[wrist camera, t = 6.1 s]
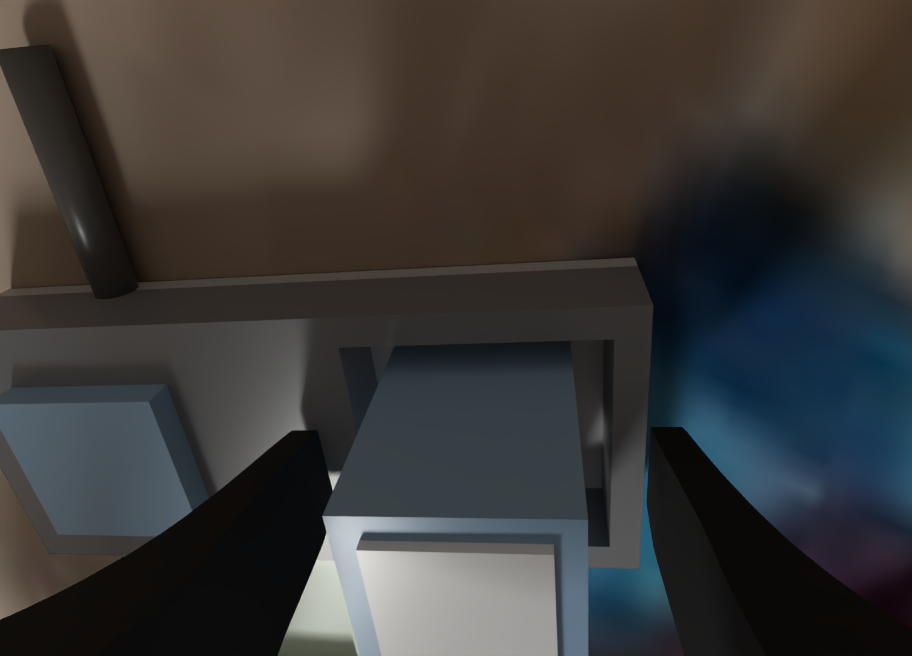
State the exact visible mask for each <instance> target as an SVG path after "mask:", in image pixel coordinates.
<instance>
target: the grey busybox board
mask: <svg viewBox="0 0 912 656" xmlns="http://www.w3.org/2000/svg"><path fill="white" fill-rule="evenodd" d="M0 66H1V69H2V71H3V73H4V76H5V78H6V81H7V83H8V86H9V88H10V91H11V93H12V95H13V98H14V100H15V103H16V105H17V108H18V110H19V113H20V115H21V117H22V120H23V122H24V125H25V127H26V130H27V132H28V135H29V137H30V139H31V142H32V144H33V147H34V149H35V152H36V154H37V157H38V159H39V161H40V164H41V166H42V169H43V171H44V174H45V176H46V179H47V181H48V183H49V186H50V188H51V191H52V193H53V196H54V198H55V201H56V203H57V206H58V208H59V210H60V213H61V215H62V218H63V220H64V223H65V225H66V228H67V230H68V232H69V235H70V237H71V240H72V242H73V245H74V247H75V250H76V252H77V254H78V257H79V259H80V262H81V264H82V267H83V269H84V272H85V274H86V276H87V279H88V281H89V284H90V285H77V286H57V287H37V288H17V289H8V290H6V291H4V292H2V293H0V467H1V469H2V471H3V473H4V475H5V476H6V478H7V480H8V482H9V483H10V485H11V487H12V489H13V490H14V492H15V494H16V496H17V497H18V499H19V501H20V503H21V505H22V506H23V508H24V510H25V512H26V513H27V515H28V517H29V519H30V520H31V522H32V524H33V526H34V527H35V529H36V531H37V533H38V534H39V536H40V538H41V540H42V542H43V543H44V545H45V547H46V549H47V550H48V552H49V554H87V555H128V554H130V553H131V552H133V551H134V550H136V549H138V548H139V547H141V546H142V545H144V544H145V543H147V542H148V541H150V540H152V539H153V538H155V537H156V536H158V535H159V534H161V533H162V532H164V531H165V530H167V529H168V528H170V527H171V526H172V525H174V524H175V523H177V522H178V521H179V520H181V519H182V518H184V517H185V516H186V515H188V514H189V513H190V512H192V511H193V510H194V509H195V508H197V507H198V506H199V505H201V504H202V503H203V502H205V501H206V500H207V499H208V498H210V497H211V496H212V495H214V494H215V493H216V492H218V491H219V490H220V489H221V488H223V487H224V486H225V485H226V484H228V483H229V482H230V481H231V480H232V479H234V478H235V477H236V476H237V475H238V474H240V473H241V472H242V471H243V470H244V469H246V468H247V467H248V466H249V465H250V464H252V463H253V462H254V461H255V460H256V459H258V458H259V457H260V456H261V455H262V454H263V453H265V452H266V451H267V450H268V449H269V448H271V447H272V446H273V445H274V444H275V443H277V442H278V441H279V440H280V439H281V438H283V437H284V436H285V435H287V434H288V433H289V432H291V431H292V430H318V434H319V438H320V442H321V446H322V450H323V454H324V458H325V462H326V466H327V470H328V474H329V478H330V482H331V486H332V490H334V487H335V485H336V483H337V480H338V478H339V476H340V473H341V471H342V469H343V466H344V464H345V462H346V459H347V457H348V455H349V452H350V450H351V448H352V445H353V443H354V440H355V438H356V436H357V433H358V431H359V429H360V426H361V424H362V422H363V419H364V417H365V415H366V412H367V410H368V408H369V405H370V403H371V401H372V398H373V396H374V394H375V391H376V389H377V387H378V384H379V382H380V379H381V377H382V375H383V372H384V370H385V368H386V365H387V363H388V361H389V358H390V356H391V354H392V351H393V349H394V347H395V346H413V345H446V344H479V343H512V342H545V341H570V344H571V354H572V364H573V374H574V384H575V394H576V404H577V414H578V424H579V434H580V444H581V454H582V464H583V474H584V484H585V494H586V504H587V514H588V567H592V568H631V569H639V564H640V545H641V527H642V508H643V490H644V471H645V452H646V434H647V415H648V397H649V378H650V359H651V341H652V322H653V303H652V301H651V298H650V296H649V293H648V291H647V288H646V285H645V283H644V280H643V278H642V275H641V273H640V270H639V268H638V265H637V263H636V260H635V258H615V259H595V260H575V261H555V262H535V263H515V264H495V265H475V266H455V267H436V268H416V269H396V270H376V271H356V272H336V273H316V274H296V275H276V276H256V277H236V278H216V279H196V280H176V281H156V282H137V279H136V277H135V274H134V271H133V268H132V266H131V263H130V260H129V258H128V255H127V252H126V249H125V247H124V244H123V241H122V239H121V236H120V233H119V230H118V228H117V225H116V222H115V220H114V217H113V214H112V211H111V209H110V206H109V203H108V201H107V198H106V195H105V193H104V190H103V187H102V184H101V182H100V179H99V176H98V174H97V171H96V168H95V165H94V163H93V160H92V157H91V155H90V152H89V149H88V146H87V144H86V141H85V138H84V136H83V133H82V130H81V127H80V125H79V122H78V119H77V117H76V114H75V111H74V108H73V106H72V103H71V100H70V98H69V95H68V92H67V90H66V87H65V84H64V81H63V79H62V76H61V73H60V71H59V68H58V65H57V62H56V60H55V57H54V54H53V52H52V49H51V46H50V45H40V46H28V47H18V48H8V49H0ZM317 560H320V561H334V558H333V554H332V550H331V547H330V543H329V539H328V536H327V533H326V536H325V540H324V543H323V545H322V548H321V550H320V553H319V555H318V558H317Z"/></svg>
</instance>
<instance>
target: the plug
mask: <svg viewBox="0 0 912 656" xmlns="http://www.w3.org/2000/svg"><path fill="white" fill-rule="evenodd" d="M322 517H323V521H324V524H325V528H326V532H327V536H328V539H329V543H330V547H331V550H332V554H333V558H334V562H335V565H336V569H337V573H338V576H339V580H340V584H341V588H342V591H343V595H344V599H345V602H346V606H347V610H348V614H349V617H350V621H351V625H352V628H353V632H354V636H355V640H356V643H357V647H358V651H359V654H360V656H588V514H587V504H586V494H585V484H584V474H583V464H582V454H581V444H580V434H579V424H578V414H577V404H576V394H575V384H574V374H573V364H572V354H571V344H570V341H545V342H512V343H479V344H446V345H413V346H395V347H394V349H393V351H392V354H391V356H390V358H389V361H388V363H387V365H386V368H385V370H384V372H383V375H382V377H381V379H380V382H379V384H378V387H377V389H376V391H375V394H374V396H373V398H372V401H371V403H370V405H369V408H368V410H367V412H366V415H365V417H364V419H363V422H362V424H361V426H360V429H359V431H358V433H357V436H356V438H355V440H354V443H353V445H352V448H351V450H350V452H349V455H348V457H347V459H346V462H345V464H344V466H343V469H342V471H341V473H340V476H339V478H338V480H337V483H336V485H335V487H334V490H333V492H332V494H331V497H330V499H329V501H328V504H327V506H326V508H325V511H324V513H323V516H322Z"/></svg>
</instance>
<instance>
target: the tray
mask: <svg viewBox="0 0 912 656" xmlns="http://www.w3.org/2000/svg"><path fill="white" fill-rule="evenodd" d="M124 556H126V555H123V557H124ZM278 656H360V654H359V651H358V647H357V643H356V640H355V636H354V632H353V628H352V625H351V621H350V617H349V614H348V610H347V606H346V602H345V599H344V595H343V591H342V588H341V584H340V580H339V576H338V573H337V569H336V565H335V562H334V561H320V560H316V563H315V565H314V567H313V570H312V572H311V575H310V577H309V580H308V582H307V584H306V587H305V589H304V591H303V594H302V596H301V599H300V601H299V603H298V606H297V608H296V611H295V613H294V615H293V618H292V620H291V622H290V625H289V627H288V630H287V632H286V634H285V637H284V640H283V642H282V645H281V648H280V651H279V653H278Z"/></svg>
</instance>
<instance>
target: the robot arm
mask: <svg viewBox="0 0 912 656" xmlns="http://www.w3.org/2000/svg"><path fill="white" fill-rule="evenodd" d="M332 492H333V490H332V486H331V482H330V478H329V474H328V470H327V466H326V462H325V458H324V454H323V450H322V446H321V442H320V438H319V434H318V430H292V431H291V432H289V433H288V434H287V435H285V436H284V437H283V438H281V439H280V440H279V441H278V442H277V443H275V444H274V445H273V446H272V447H271V448H269V449H268V450H267V451H266V452H265V453H263V454H262V455H261V456H260V457H259V458H258V459H256V460H255V461H254V462H253V463H252V464H250V465H249V466H248V467H247V468H246V469H244V470H243V471H242V472H241V473H240V474H238V475H237V476H236V477H235V478H234V479H232V480H231V481H230V482H229V483H228V484H226V485H225V486H224V487H223V488H221V489H220V490H219V491H218V492H216V493H215V494H214V495H212V496H211V497H210V498H208V499H207V500H206V501H205V502H203V503H202V504H201V505H199V506H198V507H197V508H195V509H194V510H193V511H192V512H190V513H189V514H188V515H186V516H185V517H184V518H182V519H181V520H179V521H178V522H177V523H175V524H174V525H172V526H171V527H170V528H168V529H167V530H165V531H164V532H162V533H161V534H159V535H158V536H156V537H155V538H153V539H152V540H150V541H148V542H147V543H145V544H144V545H142V546H141V547H139V548H138V549H136V550H134V551H133V552H131V553H130V554H128V555H126V556H124V557H123V558H121V559H119V560H117V561H116V562H114V563H112V564H110V565H109V566H107V567H105V568H103V569H102V570H100V571H98V572H96V573H95V574H93V575H91V576H89V577H88V578H86V579H84V580H82V581H80V582H78V583H77V584H75V585H73V586H71V587H69V588H67V589H65V590H63V591H61V592H59V593H57V594H55V595H53V596H51V597H49V598H47V599H45V600H42V601H40V602H38V603H36V604H34V605H32V606H30V607H28V608H26V609H23V610H21V611H19V612H17V613H15V614H12V615H10V616H8V617H6V618H3V619H1V620H0V656H278V653H279V651H280V648H281V645H282V642H283V640H284V637H285V634H286V632H287V630H288V627H289V625H290V622H291V620H292V618H293V615H294V613H295V611H296V608H297V606H298V603H299V601H300V599H301V596H302V594H303V591H304V589H305V587H306V584H307V582H308V580H309V577H310V575H311V572H312V570H313V567H314V565H315V563H316V560H317V558H318V555H319V553H320V550H321V548H322V545H323V543H324V540H325V536H326V533H327V532H326V528H325V524H324V521H323V517H322V516H323V513H324V511H325V508H326V506H327V504H328V501H329V499H330V497H331V494H332ZM647 509H648V515H649V522H650V528H651V534H652V540H653V546H654V551H655V554H656V558H657V562H658V565H659V569H660V572H661V576H662V579H663V583H664V586H665V590H666V593H667V597H668V600H669V604H670V607H671V611H672V614H673V618H674V621H675V625H676V628H677V632H678V635H679V639H680V642H681V646H682V649H683V653H684V656H912V631H911V630H910V629H908V628H907V627H905V626H903V625H902V624H900V623H899V622H897V621H896V620H894V619H893V618H891V617H890V616H888V615H887V614H885V613H884V612H882V611H881V610H879V609H878V608H876V607H875V606H873V605H872V604H871V603H869V602H868V601H866V600H865V599H863V598H862V597H861V596H859V595H858V594H856V593H855V592H854V591H852V590H851V589H849V588H848V587H847V586H845V585H844V584H842V583H841V582H840V581H838V580H837V579H836V578H834V577H833V576H832V575H830V574H829V573H828V572H826V571H825V570H824V569H823V568H821V567H820V566H819V565H818V564H816V563H815V562H814V561H813V560H812V559H810V558H809V557H808V556H807V555H805V554H804V553H803V552H802V551H801V550H799V549H798V548H797V547H796V546H795V545H793V544H792V543H791V542H790V541H789V540H788V539H787V538H786V537H785V536H783V535H782V534H781V533H780V532H779V531H778V530H777V529H776V528H775V527H774V526H773V525H772V524H771V523H770V522H768V521H767V520H766V519H765V518H764V517H763V516H762V515H761V514H760V513H759V512H758V511H757V510H756V509H755V508H754V507H753V506H752V505H751V504H750V503H749V502H748V501H747V500H746V499H745V498H744V497H743V496H742V494H741V493H740V492H739V491H738V490H737V489H736V488H735V487H734V486H733V485H732V484H731V483H730V482H729V481H728V480H727V479H726V477H725V476H724V475H723V474H722V473H721V472H720V471H719V470H718V468H717V467H716V466H715V465H714V464H713V463H712V461H711V460H710V459H709V458H708V457H707V456H706V454H705V453H704V452H703V451H702V450H701V448H700V447H699V446H698V445H697V444H696V442H695V441H694V440H693V439H692V437H691V436H690V435H689V434H688V432H687V431H686V430H685V429H683V428H682V427H651V434H650V452H649V469H648V486H647Z"/></svg>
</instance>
